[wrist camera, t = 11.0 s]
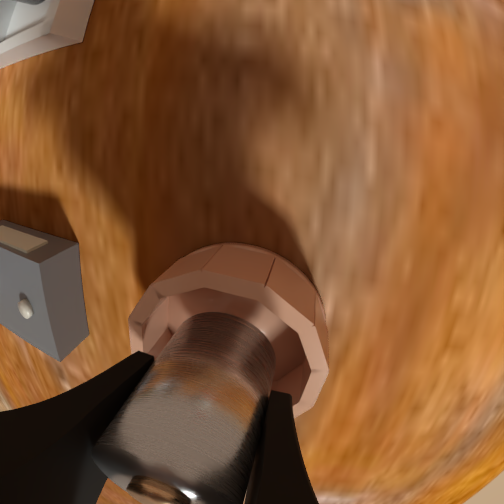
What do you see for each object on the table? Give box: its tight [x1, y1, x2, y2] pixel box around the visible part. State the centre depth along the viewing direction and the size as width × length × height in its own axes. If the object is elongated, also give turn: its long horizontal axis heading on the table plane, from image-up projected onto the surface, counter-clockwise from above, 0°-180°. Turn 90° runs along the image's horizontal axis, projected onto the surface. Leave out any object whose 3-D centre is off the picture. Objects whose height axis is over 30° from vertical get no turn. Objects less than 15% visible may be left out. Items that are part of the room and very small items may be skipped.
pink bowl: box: [128, 243, 329, 418], centre depth 12 cm, size 8×8×3 cm
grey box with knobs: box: [0, 220, 89, 362], centre depth 14 cm, size 8×6×3 cm
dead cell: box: [91, 312, 276, 504], centre depth 8 cm, size 4×4×6 cm
